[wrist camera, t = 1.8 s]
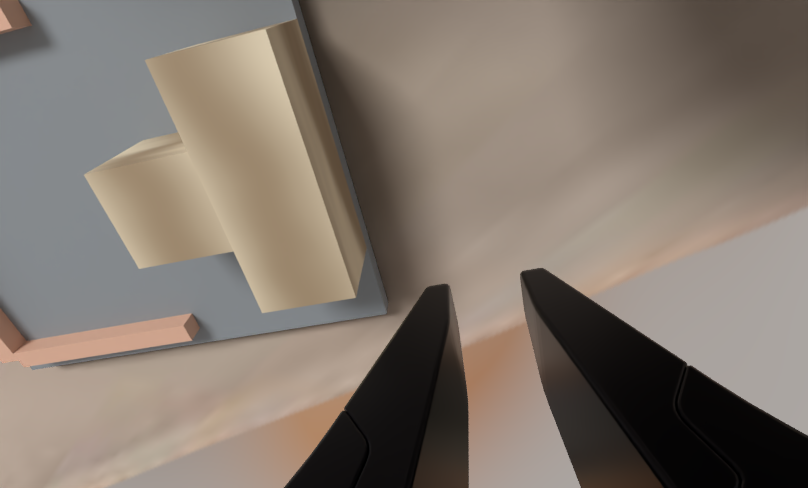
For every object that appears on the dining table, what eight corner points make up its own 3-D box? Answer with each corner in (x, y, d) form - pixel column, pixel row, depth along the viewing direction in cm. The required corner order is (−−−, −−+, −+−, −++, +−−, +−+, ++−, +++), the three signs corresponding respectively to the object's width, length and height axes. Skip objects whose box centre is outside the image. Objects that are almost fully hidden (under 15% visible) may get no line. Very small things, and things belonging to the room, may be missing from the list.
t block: (296, 18, 17) (265, 29, 14) (366, 247, 22) (356, 297, 19) (106, 67, 19) (32, 88, 15) (211, 275, 23) (173, 327, 20)
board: (266, -108, 16) (247, -118, 15) (388, 302, 25) (385, 326, 23) (-210, 35, 19) (-273, 40, 18) (44, 357, 28) (19, 382, 26)
